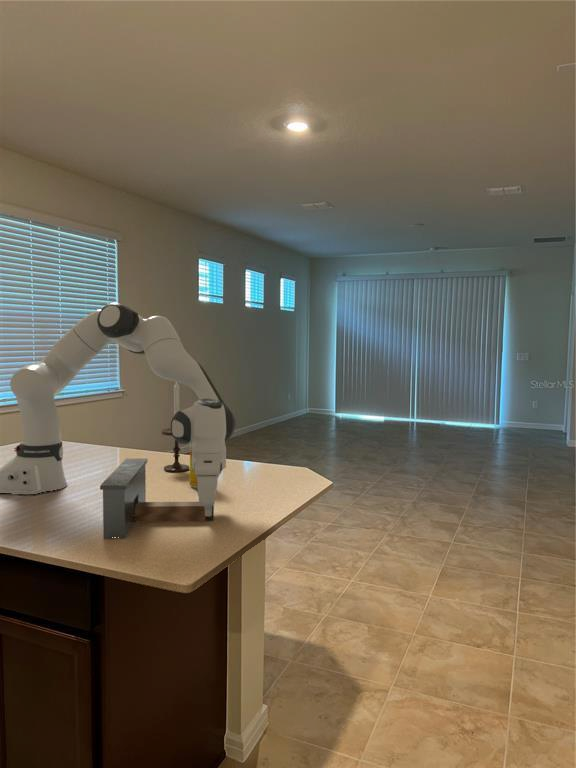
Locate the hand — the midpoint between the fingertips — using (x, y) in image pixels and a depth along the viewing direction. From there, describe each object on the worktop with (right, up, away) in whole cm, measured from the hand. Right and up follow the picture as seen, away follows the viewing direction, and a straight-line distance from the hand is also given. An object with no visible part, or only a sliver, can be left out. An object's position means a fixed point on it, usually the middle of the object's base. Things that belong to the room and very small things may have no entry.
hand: (209, 512), depth 146 cm
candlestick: (-19, +3, +54) cm, 57 cm away
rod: (-9, -2, -1) cm, 9 cm away
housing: (-21, -1, -2) cm, 22 cm away
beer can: (-8, +1, +32) cm, 32 cm away
